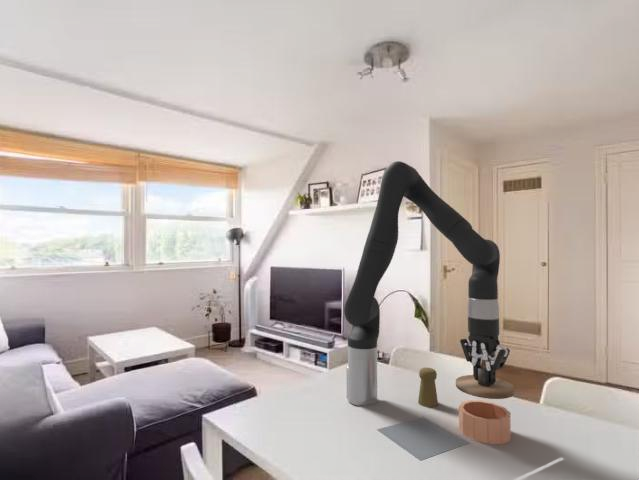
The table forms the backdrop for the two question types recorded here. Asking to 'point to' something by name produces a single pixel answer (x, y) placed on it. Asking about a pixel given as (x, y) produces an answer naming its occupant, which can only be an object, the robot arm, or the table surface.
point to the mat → (422, 437)
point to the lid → (484, 386)
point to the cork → (428, 388)
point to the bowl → (485, 422)
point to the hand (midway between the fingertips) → (484, 381)
